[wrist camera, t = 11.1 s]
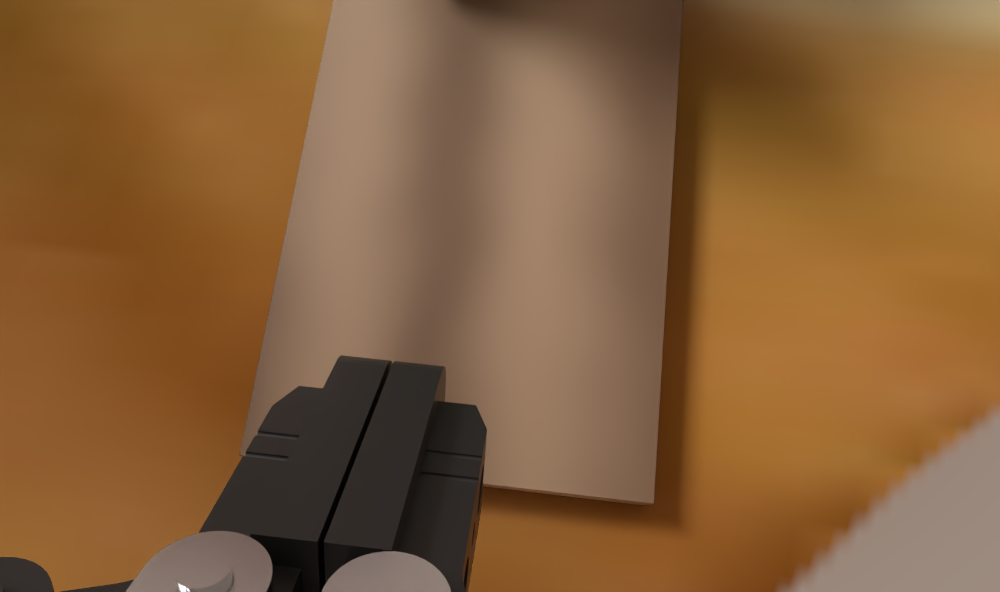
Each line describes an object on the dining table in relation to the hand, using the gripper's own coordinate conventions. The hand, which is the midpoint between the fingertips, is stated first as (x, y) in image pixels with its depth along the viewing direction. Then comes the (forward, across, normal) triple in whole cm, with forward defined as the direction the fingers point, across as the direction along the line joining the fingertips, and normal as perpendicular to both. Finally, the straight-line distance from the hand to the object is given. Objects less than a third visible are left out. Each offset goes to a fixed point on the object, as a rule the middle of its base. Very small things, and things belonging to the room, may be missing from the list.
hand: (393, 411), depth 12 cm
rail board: (+21, 0, -8) cm, 23 cm away
